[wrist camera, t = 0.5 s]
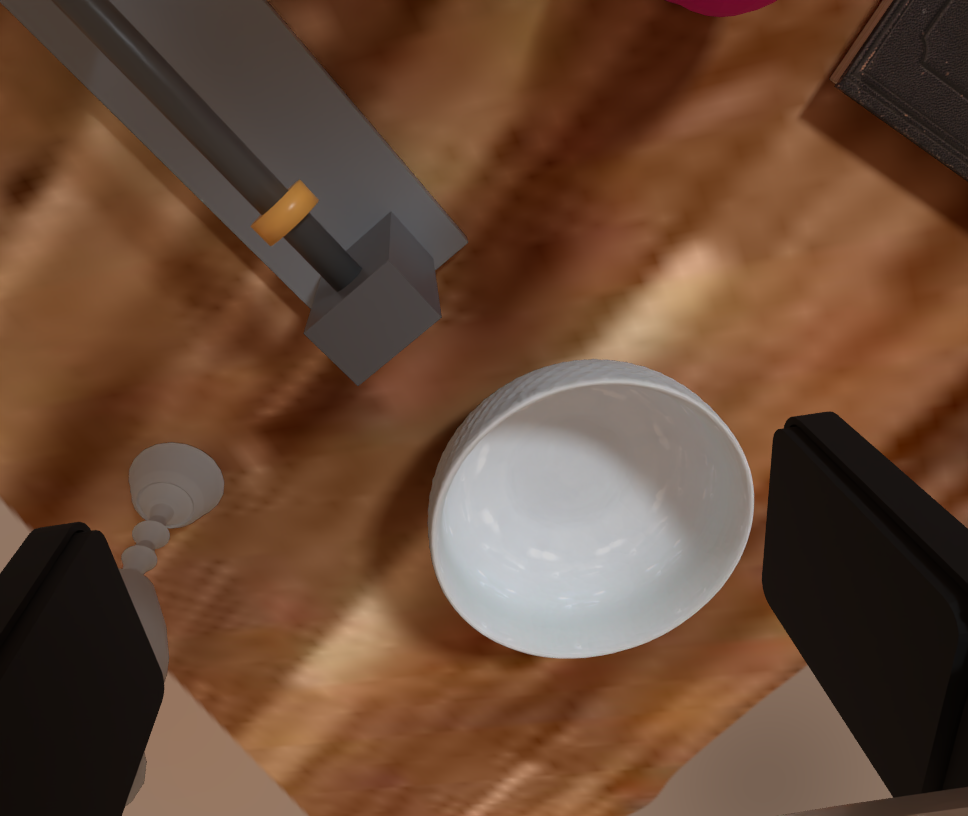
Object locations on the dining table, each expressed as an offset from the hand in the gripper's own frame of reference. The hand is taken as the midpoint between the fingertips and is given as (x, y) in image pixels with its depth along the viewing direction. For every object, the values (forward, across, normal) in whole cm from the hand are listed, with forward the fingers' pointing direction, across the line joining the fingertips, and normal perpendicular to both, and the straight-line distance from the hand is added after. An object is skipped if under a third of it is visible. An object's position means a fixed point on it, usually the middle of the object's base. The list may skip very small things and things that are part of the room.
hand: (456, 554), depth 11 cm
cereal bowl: (+28, -6, +17) cm, 34 cm away
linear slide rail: (+28, +9, -7) cm, 30 cm away
